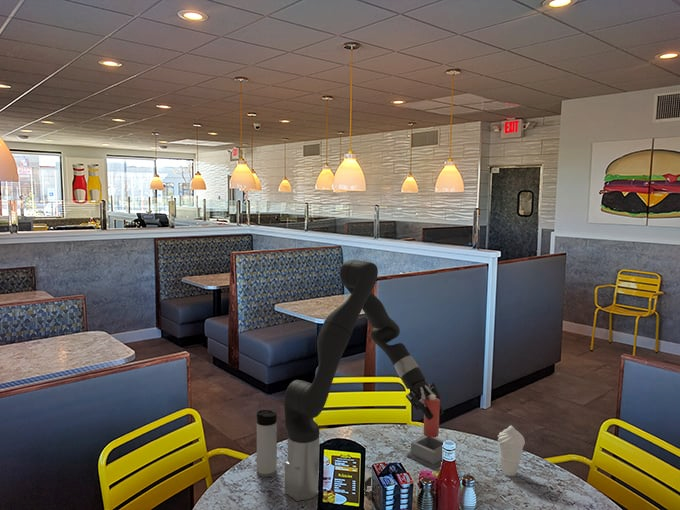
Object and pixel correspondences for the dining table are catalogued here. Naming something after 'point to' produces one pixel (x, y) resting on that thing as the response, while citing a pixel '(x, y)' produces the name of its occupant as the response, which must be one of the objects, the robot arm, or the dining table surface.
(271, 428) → the travel mug
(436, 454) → the box
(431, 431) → the squeeze bottle
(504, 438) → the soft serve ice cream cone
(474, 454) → the dining table surface
